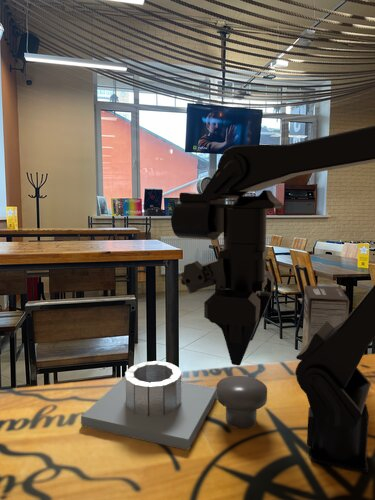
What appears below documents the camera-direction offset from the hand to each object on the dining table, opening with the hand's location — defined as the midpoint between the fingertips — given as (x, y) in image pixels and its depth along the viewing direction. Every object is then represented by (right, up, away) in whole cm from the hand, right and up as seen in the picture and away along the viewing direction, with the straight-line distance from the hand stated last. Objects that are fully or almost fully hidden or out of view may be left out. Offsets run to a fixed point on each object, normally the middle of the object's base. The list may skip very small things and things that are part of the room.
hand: (242, 351), depth 54 cm
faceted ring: (-13, -9, +4) cm, 16 cm away
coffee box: (+16, -9, +14) cm, 23 cm away
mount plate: (-13, -10, +4) cm, 17 cm away
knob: (0, -10, +2) cm, 10 cm away
